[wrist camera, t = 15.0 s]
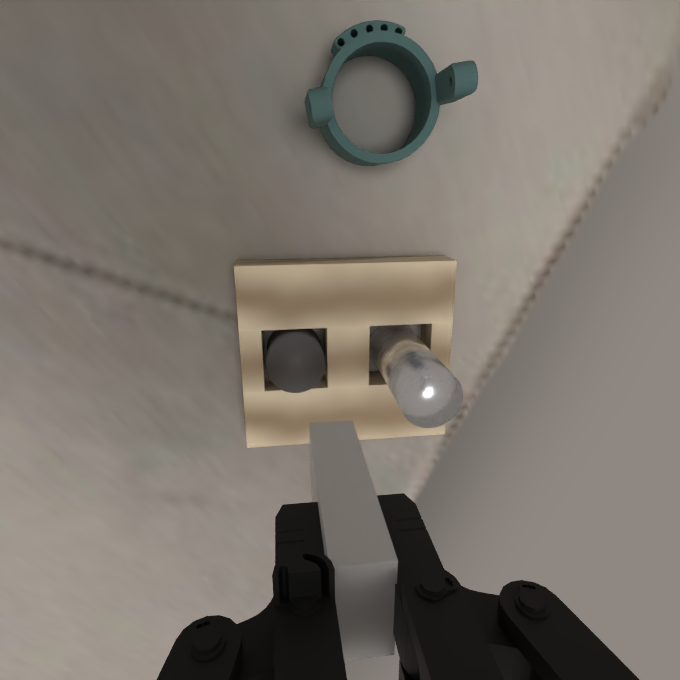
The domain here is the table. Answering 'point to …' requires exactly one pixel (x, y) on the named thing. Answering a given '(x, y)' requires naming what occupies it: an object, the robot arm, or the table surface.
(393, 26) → the bracket
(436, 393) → the metal cylinder
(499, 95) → the table surface
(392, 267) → the jig
